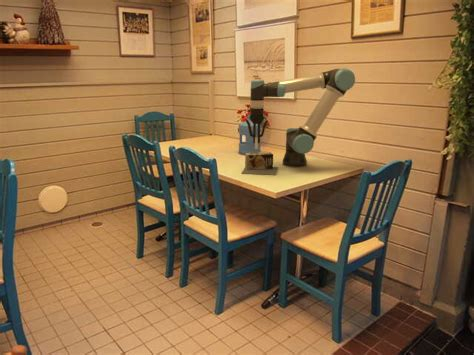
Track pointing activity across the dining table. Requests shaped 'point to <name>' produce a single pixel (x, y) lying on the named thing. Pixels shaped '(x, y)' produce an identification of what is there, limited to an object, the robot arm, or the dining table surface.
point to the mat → (261, 171)
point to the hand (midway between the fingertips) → (256, 148)
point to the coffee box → (258, 161)
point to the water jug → (248, 138)
